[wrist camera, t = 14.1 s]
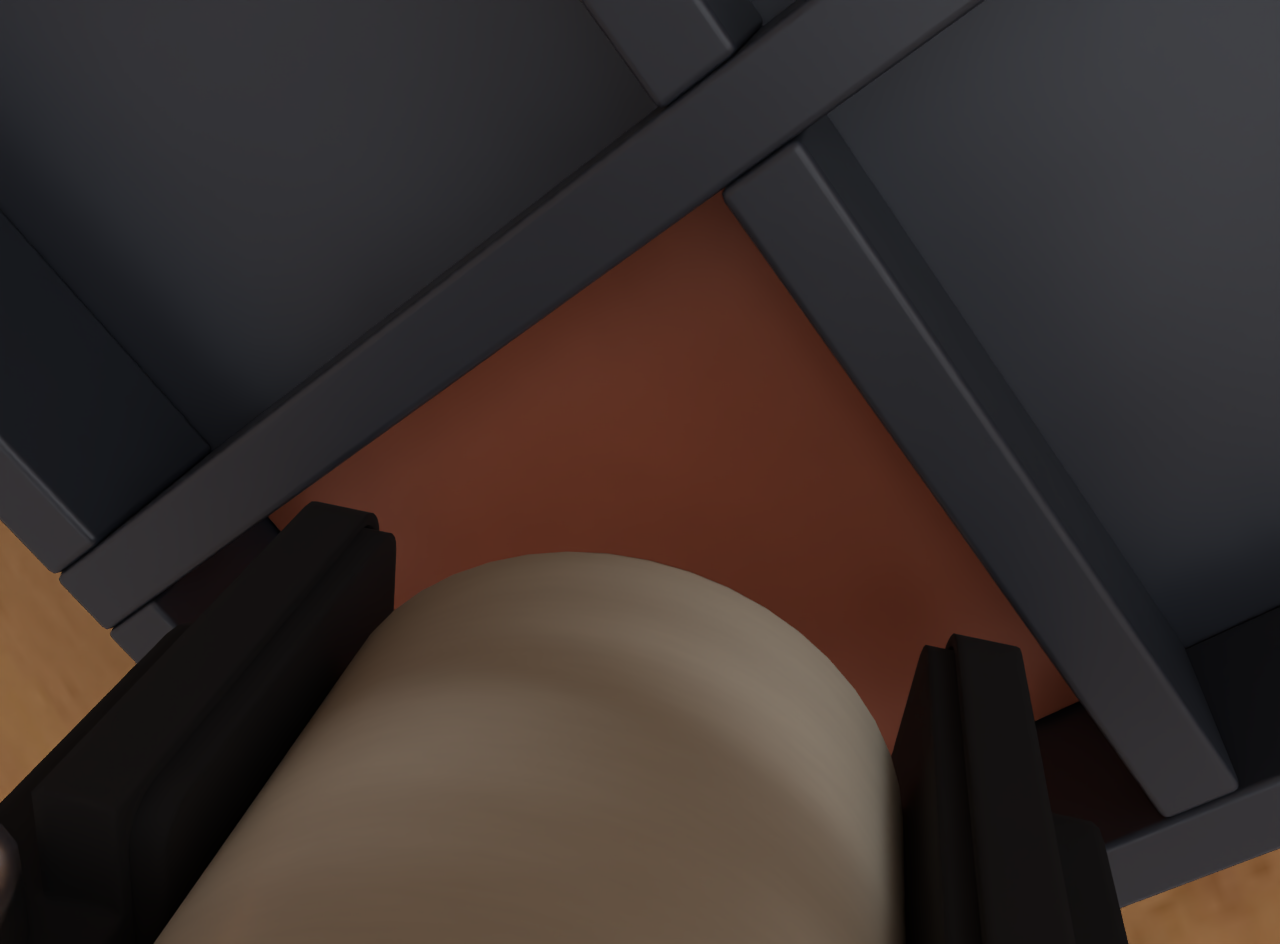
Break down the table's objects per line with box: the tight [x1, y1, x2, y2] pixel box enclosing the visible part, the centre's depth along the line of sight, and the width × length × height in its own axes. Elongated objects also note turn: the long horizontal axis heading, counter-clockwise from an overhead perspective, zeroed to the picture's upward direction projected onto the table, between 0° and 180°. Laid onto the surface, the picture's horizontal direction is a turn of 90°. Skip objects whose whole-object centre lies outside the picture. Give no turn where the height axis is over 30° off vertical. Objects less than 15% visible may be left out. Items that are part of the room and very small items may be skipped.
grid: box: [0, 0, 1280, 908], centre depth 10 cm, size 15×15×3 cm
